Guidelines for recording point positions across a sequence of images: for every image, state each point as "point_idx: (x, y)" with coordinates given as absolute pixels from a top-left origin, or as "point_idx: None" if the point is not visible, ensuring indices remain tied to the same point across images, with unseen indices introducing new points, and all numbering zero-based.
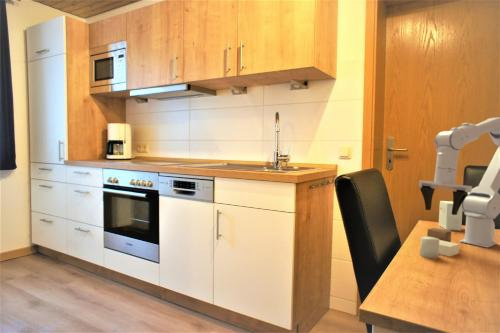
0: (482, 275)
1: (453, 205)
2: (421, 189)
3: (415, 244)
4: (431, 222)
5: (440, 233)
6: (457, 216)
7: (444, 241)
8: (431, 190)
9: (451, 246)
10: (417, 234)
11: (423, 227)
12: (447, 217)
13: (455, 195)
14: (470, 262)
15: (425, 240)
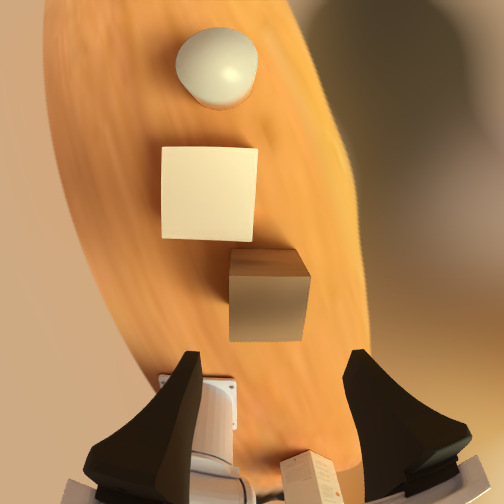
0: (63, 55)
1: (179, 391)
2: (461, 429)
3: (324, 209)
4: (350, 466)
5: (249, 273)
6: (292, 487)
7: (216, 229)
8: (383, 480)
9: (162, 162)
10: None
11: None
12: (313, 476)
13: (141, 451)
14: (107, 143)
15: (223, 30)
